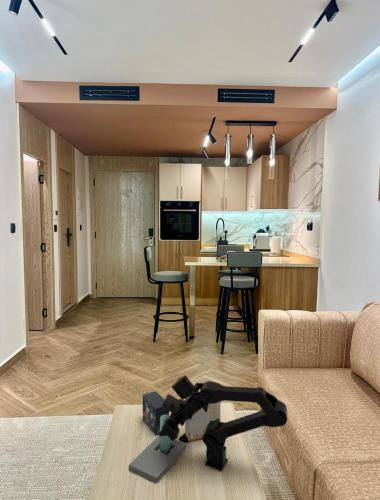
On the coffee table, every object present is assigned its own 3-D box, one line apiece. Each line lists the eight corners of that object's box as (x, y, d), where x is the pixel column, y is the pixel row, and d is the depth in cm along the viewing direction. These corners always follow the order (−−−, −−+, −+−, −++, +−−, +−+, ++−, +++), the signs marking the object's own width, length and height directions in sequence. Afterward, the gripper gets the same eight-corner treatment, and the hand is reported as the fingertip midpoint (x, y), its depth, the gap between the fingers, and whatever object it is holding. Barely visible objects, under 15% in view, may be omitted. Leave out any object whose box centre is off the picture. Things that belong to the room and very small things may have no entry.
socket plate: (186, 448, 129) (186, 443, 129) (156, 483, 112) (156, 477, 112) (160, 438, 135) (160, 433, 135) (128, 470, 118) (128, 464, 118)
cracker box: (214, 427, 143) (216, 380, 142) (220, 435, 138) (221, 387, 136) (184, 433, 139) (184, 385, 137) (188, 442, 133) (189, 392, 131)
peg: (172, 451, 128) (172, 416, 127) (166, 457, 124) (167, 422, 123) (163, 447, 130) (164, 413, 129) (157, 453, 126) (158, 418, 125)
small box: (141, 420, 148) (141, 394, 147) (155, 415, 152) (155, 390, 151) (155, 436, 137) (155, 408, 136) (169, 430, 141) (170, 403, 140)
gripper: (181, 379, 133) (155, 401, 137) (167, 403, 115) (137, 428, 119) (200, 400, 132) (174, 422, 135) (189, 428, 114) (158, 453, 117)
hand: (161, 430), depth 127 cm, fingers open, 5 cm apart
